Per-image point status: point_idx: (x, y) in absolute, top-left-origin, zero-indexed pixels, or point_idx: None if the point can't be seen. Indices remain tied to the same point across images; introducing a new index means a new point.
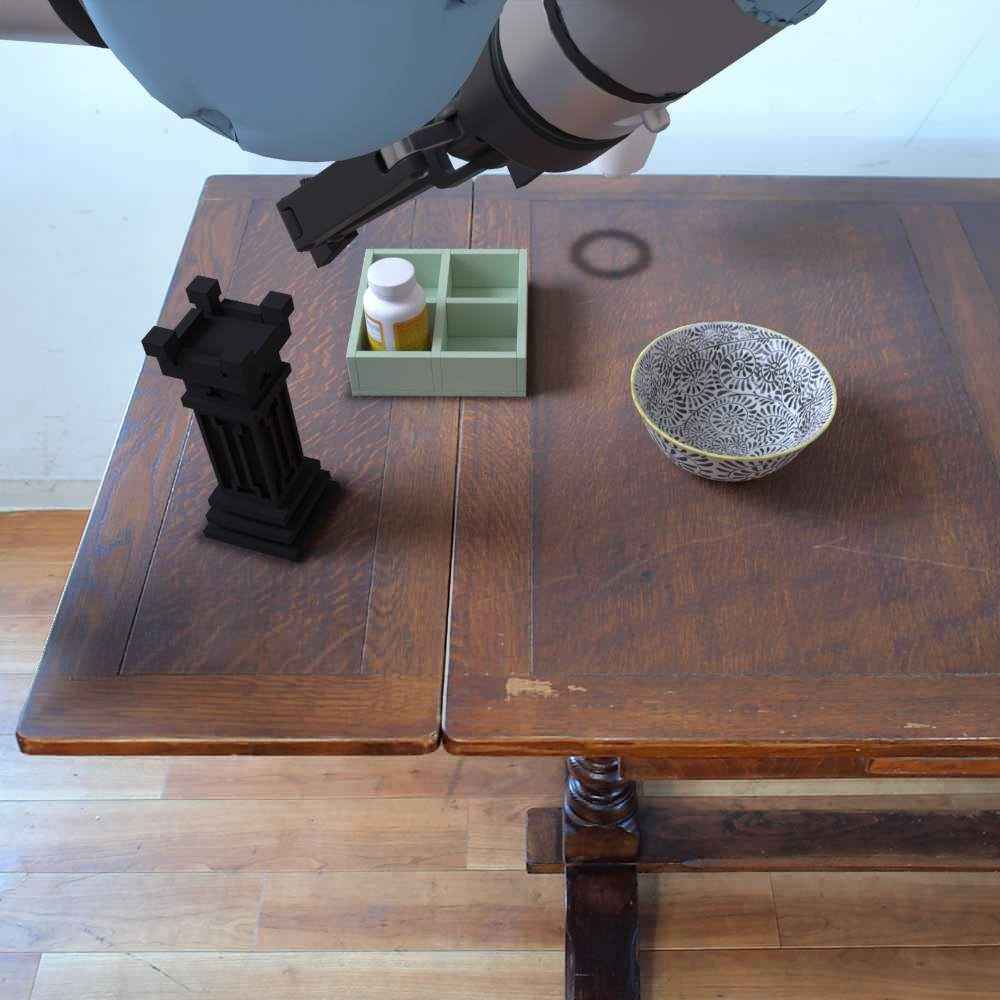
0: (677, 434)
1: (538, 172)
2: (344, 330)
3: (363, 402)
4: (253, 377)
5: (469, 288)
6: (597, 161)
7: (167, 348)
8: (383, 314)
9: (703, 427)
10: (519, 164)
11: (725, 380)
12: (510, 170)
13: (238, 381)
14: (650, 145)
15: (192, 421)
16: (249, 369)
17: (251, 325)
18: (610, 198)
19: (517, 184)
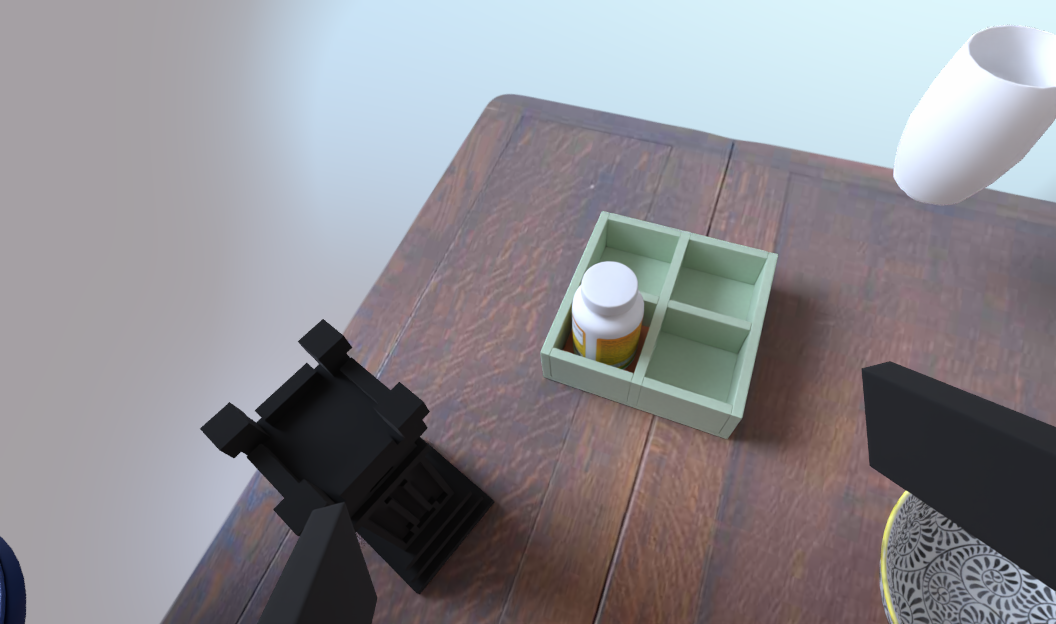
0: (913, 583)
1: (985, 543)
2: (559, 289)
3: (551, 389)
4: None
5: (699, 272)
6: (908, 181)
7: (232, 447)
8: (588, 327)
9: (950, 580)
10: (915, 456)
11: None
12: (873, 430)
13: None
14: (996, 179)
15: (386, 360)
16: None
17: (372, 411)
18: (881, 188)
19: (879, 466)
